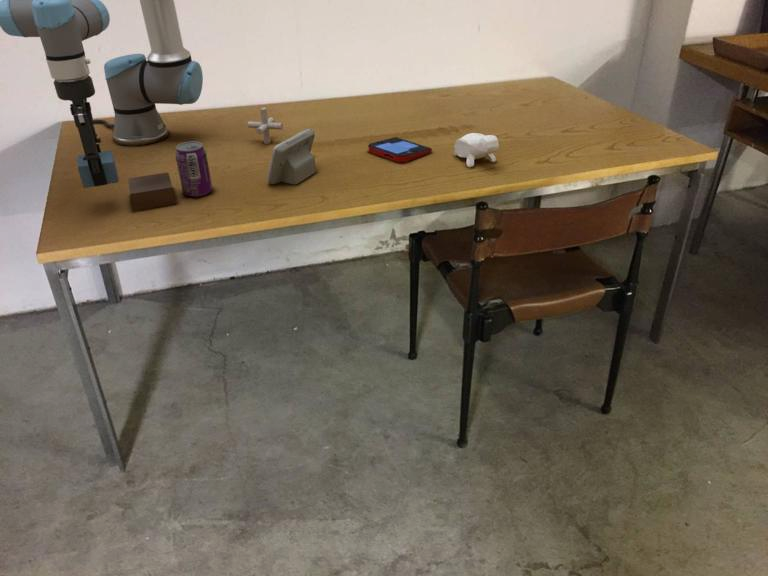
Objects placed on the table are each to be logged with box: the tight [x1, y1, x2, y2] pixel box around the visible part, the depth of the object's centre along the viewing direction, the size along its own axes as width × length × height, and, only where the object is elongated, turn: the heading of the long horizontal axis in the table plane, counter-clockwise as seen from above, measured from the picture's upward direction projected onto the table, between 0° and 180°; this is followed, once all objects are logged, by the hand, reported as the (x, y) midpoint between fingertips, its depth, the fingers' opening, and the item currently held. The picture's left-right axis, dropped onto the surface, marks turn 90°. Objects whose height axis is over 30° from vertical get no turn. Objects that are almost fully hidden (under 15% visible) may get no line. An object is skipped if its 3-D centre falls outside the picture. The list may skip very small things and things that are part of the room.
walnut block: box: [127, 171, 177, 212], centre depth 152 cm, size 10×10×4 cm
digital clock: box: [266, 128, 317, 186], centre depth 161 cm, size 16×9×11 cm, turn 140°
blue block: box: [76, 150, 120, 189], centre depth 145 cm, size 8×8×5 cm
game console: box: [367, 136, 433, 163], centre depth 177 cm, size 14×13×2 cm
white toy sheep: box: [453, 132, 500, 168], centre depth 169 cm, size 9×8×15 cm
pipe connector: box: [247, 107, 284, 145], centre depth 183 cm, size 10×10×10 cm
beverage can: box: [174, 140, 213, 198], centre depth 153 cm, size 7×7×12 cm
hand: (100, 177), depth 147 cm, fingers closed on blue block, 7 cm apart
